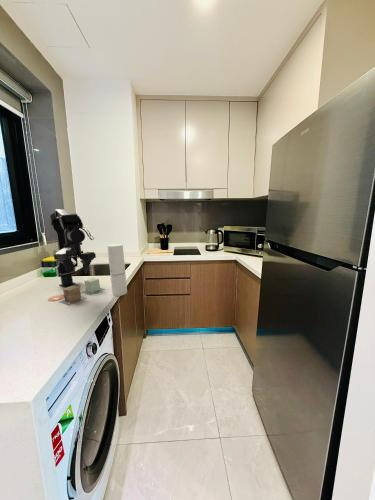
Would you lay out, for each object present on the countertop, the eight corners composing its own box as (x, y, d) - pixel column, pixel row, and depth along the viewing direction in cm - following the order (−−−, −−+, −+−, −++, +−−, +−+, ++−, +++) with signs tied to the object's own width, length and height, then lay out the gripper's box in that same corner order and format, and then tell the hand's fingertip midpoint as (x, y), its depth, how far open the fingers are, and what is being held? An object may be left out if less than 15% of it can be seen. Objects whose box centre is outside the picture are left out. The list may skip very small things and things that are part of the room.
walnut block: (64, 301, 96) (63, 288, 95) (75, 297, 100) (73, 285, 99) (70, 302, 93) (69, 290, 92) (81, 298, 98) (79, 287, 97)
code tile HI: (80, 292, 106) (79, 292, 106) (95, 287, 114) (95, 286, 114) (90, 295, 102) (90, 295, 102) (105, 289, 109) (105, 289, 109)
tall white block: (122, 289, 108) (117, 243, 104) (130, 292, 104) (125, 244, 99) (109, 294, 103) (104, 245, 98) (117, 297, 98) (112, 246, 94)
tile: (58, 302, 95) (58, 301, 95) (76, 295, 103) (76, 295, 103) (69, 306, 91) (69, 305, 91) (87, 298, 98) (87, 298, 98)
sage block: (85, 291, 107) (84, 280, 106) (94, 288, 111) (92, 278, 110) (91, 293, 104) (90, 282, 103) (100, 289, 109) (98, 279, 108)
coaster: (44, 300, 99) (44, 299, 99) (61, 294, 105) (61, 293, 105) (53, 303, 95) (53, 302, 95) (70, 296, 101) (70, 296, 101)
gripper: (40, 243, 89) (46, 278, 91) (76, 243, 84) (81, 279, 87) (61, 240, 99) (66, 271, 102) (94, 240, 95) (98, 272, 98)
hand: (77, 273), depth 97 cm, fingers open, 9 cm apart
